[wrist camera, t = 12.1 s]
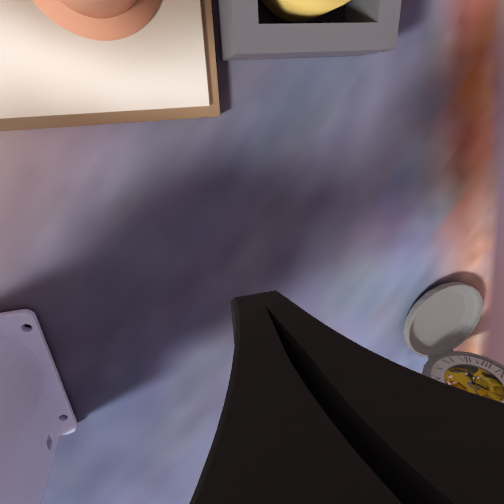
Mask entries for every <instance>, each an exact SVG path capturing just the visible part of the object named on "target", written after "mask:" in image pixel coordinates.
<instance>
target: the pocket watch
mask: <svg viewBox="0 0 504 504" xmlns="http://www.w3.org/2000/svg"><path fill="white" fill-rule="evenodd" d="M482 309H483V300H482V297H481V295H480V293H479V292H478V291H477V290H476V289H475V288H474V287H473V286H470V285H468V284H466V283H462V282H449V283H445V284H441V285H439V286H437V287H435V288H433V289H432V290H430V291H428V292H426V293H425V294H424V295H423V296H422V297H421V298H420V299H419V300H418V301H417V302H416V303H415V304H414V305H413V307H412V308H411V309H410V311H409V313H408V315H407V317H406V319H405V323H404V328H403V335H404V340H405V342H406V344H407V345H408V347H409V348H410V349H411V350H412V351H413V352H414V353H416V354H418V355H420V356H427V357H428V358H429V360H428V361H427V363H426V364H425V365H424V368H423V372H422V375H425V376H428V377H430V378H433V379H435V380H438V381H440V382H443V383H445V384H448V383H447V382H446V381H449V382H450V383H451V384H453V383H452V382H453V381H457V382H458V383H457V384H453V385H451V386H454V387H456V386H457V388H459V389H462V390H465V391H468V392H471V393H474V394H477V395H480V396H483V397H486V398H489V399H492V400H495V401H499V402H502V403H504V366H503V365H502V364H500V363H498V362H496V361H494V360H491V359H490V358H487V357H485V356H481V355H477V354H473V353H470V352H460V351H455V352H454V351H453V350H452V349H454V348H456V347H457V346H458V345H460V344H461V343H462V342H463V341H465V339H466V338H467V337H468V336H469V335H470V334H471V333H472V332H473V330H474V329H475V327H476V325H477V323H478V322H479V320H480V317H481V313H482ZM465 374H467V376H466V375H465ZM450 375H452V376H453V378H452V379H451V378H449V377H448V376H450ZM473 377H475V378H474V380H473ZM477 377H480V378H479V379H478V380H477ZM482 380H486V381H482ZM468 385H469V386H468Z"/></svg>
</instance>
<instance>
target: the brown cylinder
mask: <svg viewBox="0 0 504 504" xmlns="http://www.w3.org/2000/svg"><path fill="white" fill-rule="evenodd" d="M60 1H61V2H62V3H63V4H65V5H66V6H67V7H69V8H70V9H72V10H74V11H75V12H78V13H80V14H82V15H85V16H88V17H92V18H100V19H105V18H112V17H115V16H118V15H120V14H123V13H124V12H126V11H127V10H128V9H129V8H131V7H132V6H133V5H134V3H135V2H136V1H137V0H60Z"/></svg>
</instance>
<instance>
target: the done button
mask: <svg viewBox="0 0 504 504" xmlns="http://www.w3.org/2000/svg"><path fill="white" fill-rule="evenodd" d="M262 1H263V3H264V4H265V6H266V7H267V8H268V9H269V10H270V11H271V12H272V13H274V14H275V15H276V16H278V17H280V18H281V19H284V20H286V21H290V22H306V21H309V20H312V19H314V18H316V17H318V16H321V15H323V14H325V13H327V12H329V11H331V10H333V9H335V8H338V7H340V6H342V5H344V4H346V3H347V2H349V1H350V0H262Z"/></svg>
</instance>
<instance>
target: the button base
mask: <svg viewBox="0 0 504 504" xmlns="http://www.w3.org/2000/svg"><path fill="white" fill-rule="evenodd" d="M401 1H402V0H350V1H349V2H347V3H346V4H345V20H344V23H293V24H258V0H218V10H219V23H220V37H221V50H222V60H251V59H280V58H309V57H338V56H361V55H367V54H373V53H378V52H384V51H389V50H395V49H396V44H397V36H398V27H399V18H400V10H401Z"/></svg>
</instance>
